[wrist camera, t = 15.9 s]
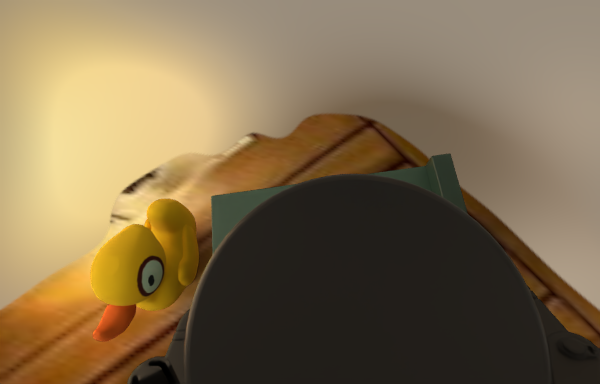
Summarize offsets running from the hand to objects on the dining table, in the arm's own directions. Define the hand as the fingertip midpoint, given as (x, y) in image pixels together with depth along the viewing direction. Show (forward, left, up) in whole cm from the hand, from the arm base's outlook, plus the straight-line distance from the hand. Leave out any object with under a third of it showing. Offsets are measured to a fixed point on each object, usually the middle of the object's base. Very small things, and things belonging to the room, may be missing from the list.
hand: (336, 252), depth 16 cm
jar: (0, -3, -4) cm, 5 cm away
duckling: (-15, +3, -15) cm, 22 cm away
